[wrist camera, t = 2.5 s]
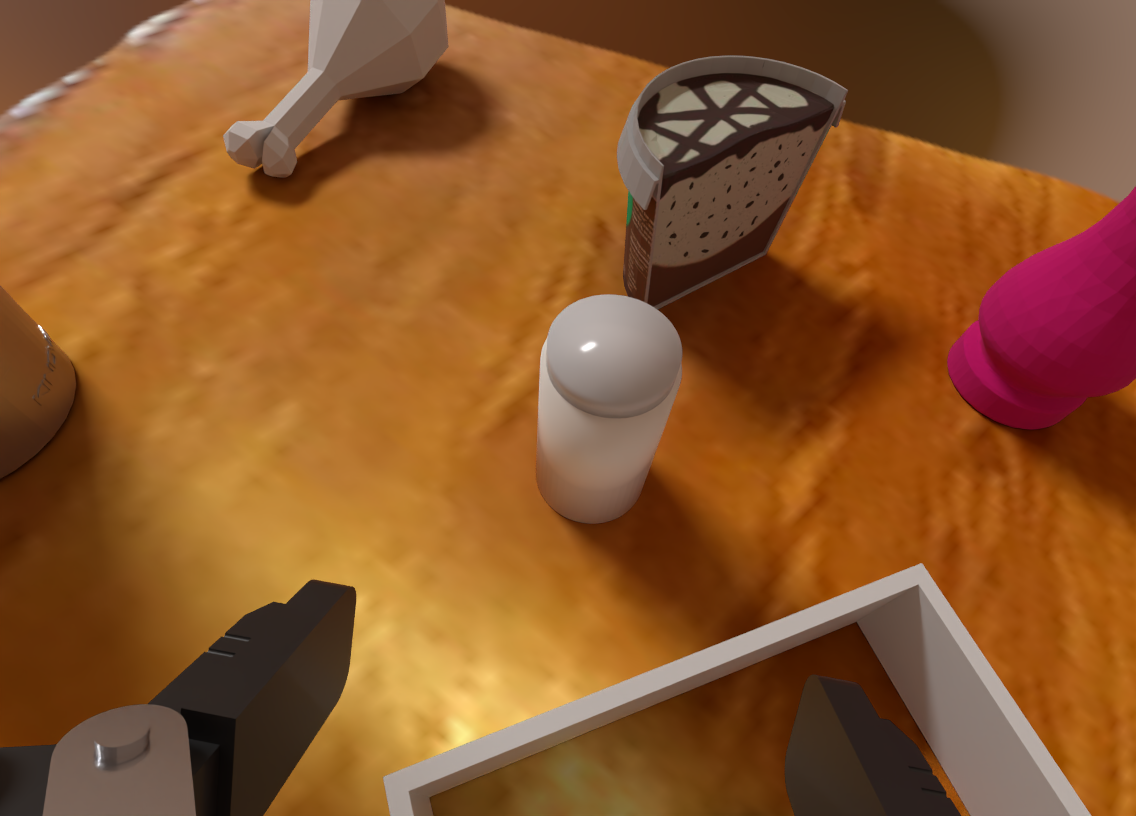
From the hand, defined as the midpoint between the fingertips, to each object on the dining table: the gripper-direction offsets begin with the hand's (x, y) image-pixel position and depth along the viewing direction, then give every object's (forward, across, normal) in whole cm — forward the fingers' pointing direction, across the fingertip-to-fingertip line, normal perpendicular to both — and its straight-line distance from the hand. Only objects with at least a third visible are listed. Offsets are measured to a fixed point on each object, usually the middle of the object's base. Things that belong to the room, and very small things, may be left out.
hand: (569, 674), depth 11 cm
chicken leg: (+36, +20, -14) cm, 43 cm away
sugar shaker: (+19, 0, +2) cm, 19 cm away
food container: (+30, -3, -9) cm, 31 cm away
